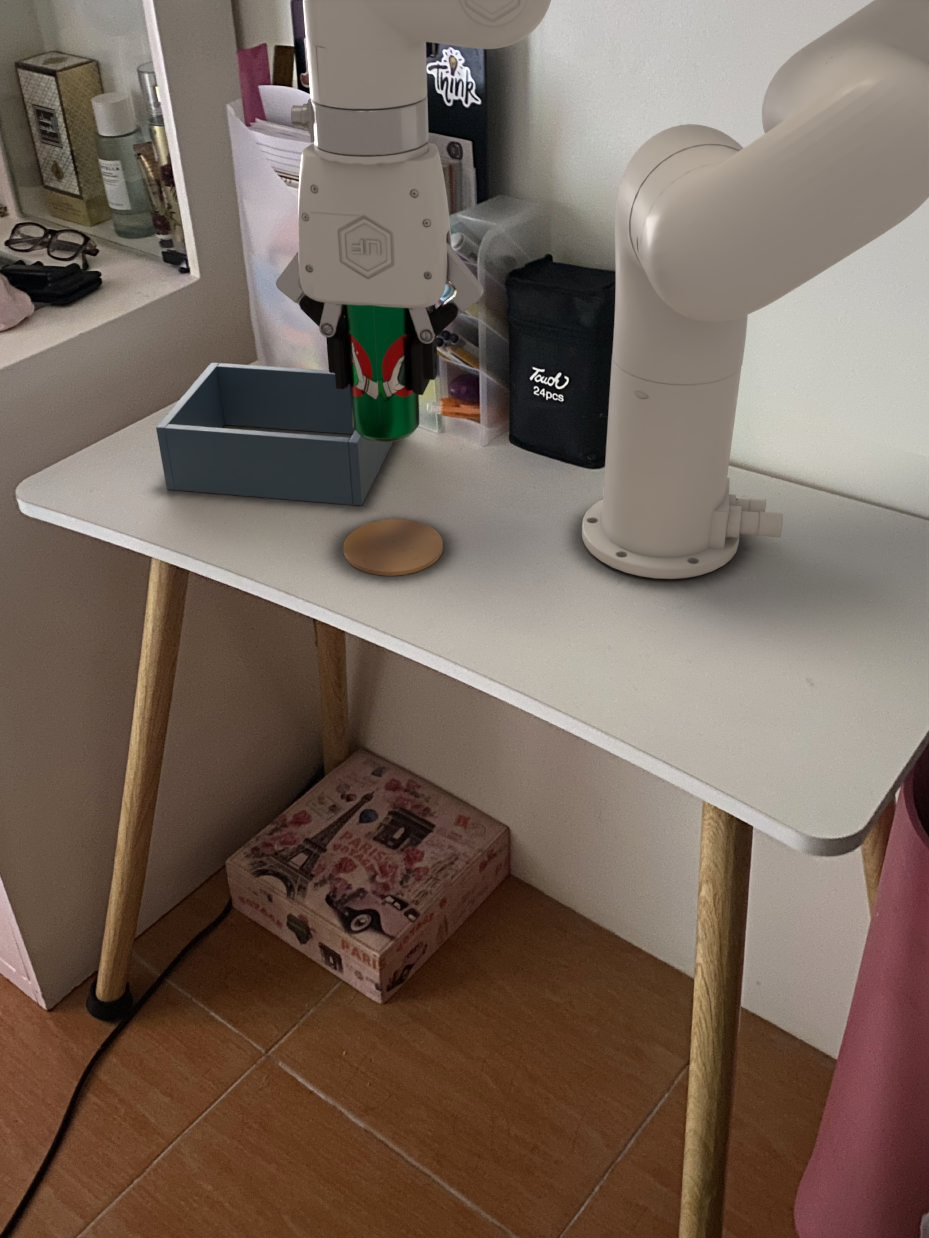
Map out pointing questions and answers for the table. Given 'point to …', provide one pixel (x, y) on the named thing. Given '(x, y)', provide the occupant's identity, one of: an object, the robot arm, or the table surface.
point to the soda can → (381, 372)
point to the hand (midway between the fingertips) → (383, 382)
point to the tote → (268, 437)
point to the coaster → (393, 547)
